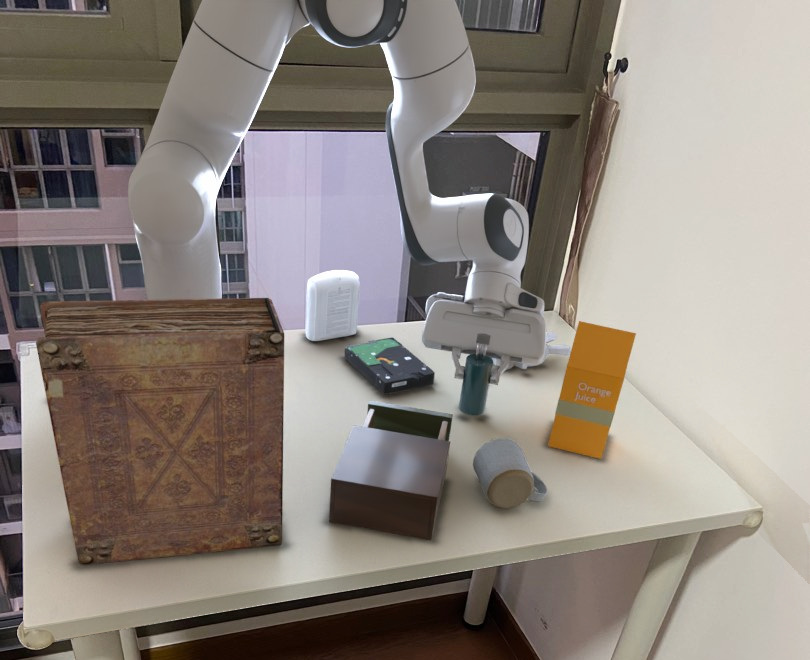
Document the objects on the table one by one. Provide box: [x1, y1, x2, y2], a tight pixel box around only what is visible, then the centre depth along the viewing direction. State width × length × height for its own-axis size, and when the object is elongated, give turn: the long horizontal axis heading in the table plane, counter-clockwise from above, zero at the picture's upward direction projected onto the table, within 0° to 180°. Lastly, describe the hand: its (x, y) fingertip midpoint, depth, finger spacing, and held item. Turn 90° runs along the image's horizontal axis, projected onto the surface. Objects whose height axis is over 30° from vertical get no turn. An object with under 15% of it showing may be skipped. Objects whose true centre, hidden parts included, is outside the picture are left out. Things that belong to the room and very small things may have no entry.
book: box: [35, 297, 285, 566], centre depth 100 cm, size 25×9×30 cm, turn 106°
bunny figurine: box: [492, 331, 571, 370], centre depth 157 cm, size 10×5×15 cm
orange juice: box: [547, 320, 637, 460], centre depth 132 cm, size 8×9×20 cm
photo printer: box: [304, 269, 361, 342], centre depth 156 cm, size 10×4×12 cm, turn 123°
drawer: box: [362, 400, 454, 441], centre depth 127 cm, size 18×13×6 cm
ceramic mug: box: [472, 437, 548, 509], centre depth 121 cm, size 11×8×8 cm
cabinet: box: [328, 424, 451, 541], centre depth 117 cm, size 14×14×7 cm
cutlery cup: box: [458, 333, 494, 416], centre depth 137 cm, size 4×4×13 cm
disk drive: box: [344, 337, 436, 395], centre depth 149 cm, size 10×3×15 cm
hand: (476, 380), depth 137 cm, fingers closed on cutlery cup, 4 cm apart
